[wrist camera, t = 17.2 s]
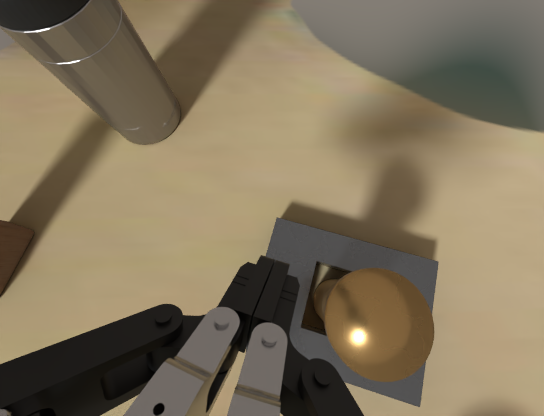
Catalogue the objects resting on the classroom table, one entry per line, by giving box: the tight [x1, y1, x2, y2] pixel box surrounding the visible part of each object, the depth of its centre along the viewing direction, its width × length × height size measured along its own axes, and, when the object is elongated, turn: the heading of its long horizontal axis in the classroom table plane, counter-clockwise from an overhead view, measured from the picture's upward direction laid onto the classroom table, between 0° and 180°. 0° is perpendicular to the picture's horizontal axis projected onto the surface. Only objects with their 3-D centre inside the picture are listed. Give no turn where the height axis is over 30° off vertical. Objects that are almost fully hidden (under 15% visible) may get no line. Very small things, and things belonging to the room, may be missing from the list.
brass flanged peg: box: [313, 268, 434, 382], centre depth 23 cm, size 7×7×14 cm
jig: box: [246, 218, 438, 407], centre depth 28 cm, size 18×14×3 cm
